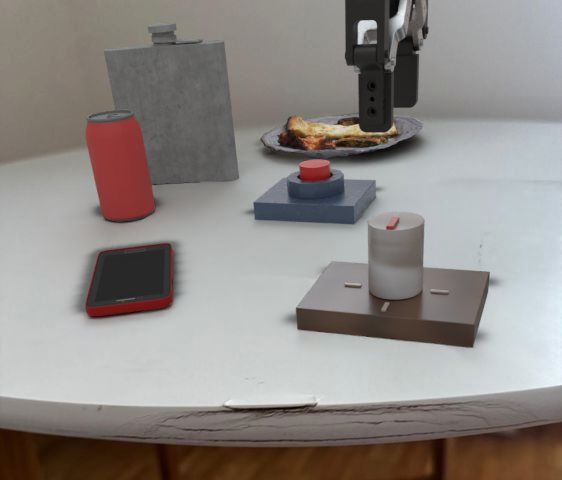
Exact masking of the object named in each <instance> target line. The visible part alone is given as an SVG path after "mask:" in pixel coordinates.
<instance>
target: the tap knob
mask: <svg viewBox="0 0 562 480" xmlns="http://www.w3.org/2000/svg"><path fill="white" fill-rule="evenodd" d="M425 224H426V220H425V218H424V217H423V216H422V215H421V214H418V213H415V212H409V211H398V210H397V211H385V212H381V213H377V214H375V215H372V216H371V217H369V218H368V220H367V264H368V289H369V292H370V293H371V294H372V295H374V296H376V297H379V298H382V299H389V300H400V299H407V298H411V297H414V296H416V295H418V294H419V293H420V292H421V291H422V289H423V267H424V260H425V259H424V255H425V226H426V225H425Z"/></svg>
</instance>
